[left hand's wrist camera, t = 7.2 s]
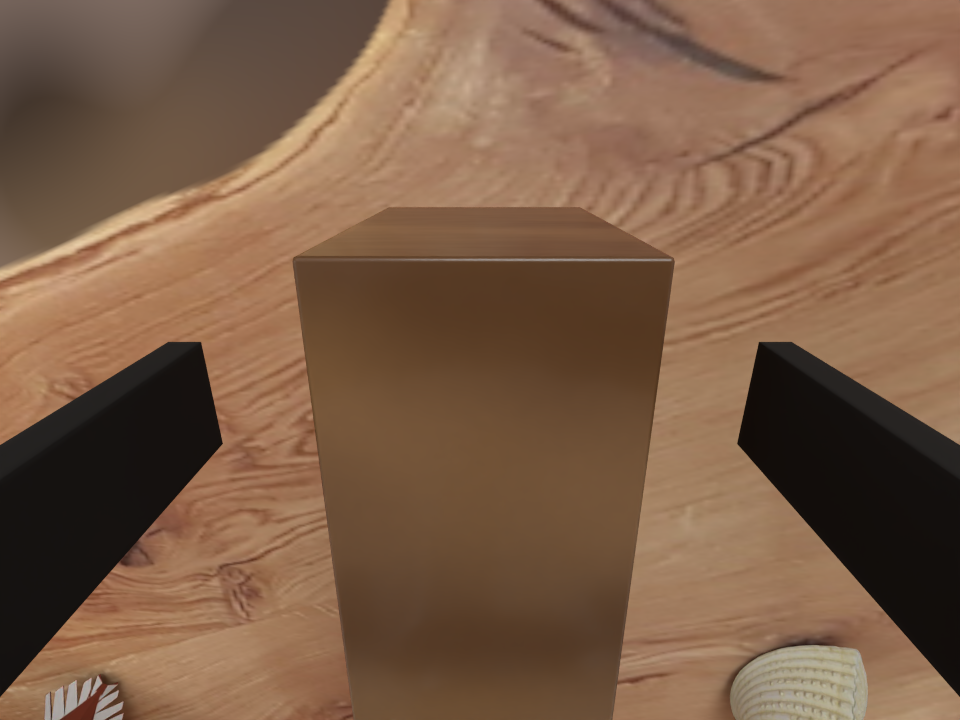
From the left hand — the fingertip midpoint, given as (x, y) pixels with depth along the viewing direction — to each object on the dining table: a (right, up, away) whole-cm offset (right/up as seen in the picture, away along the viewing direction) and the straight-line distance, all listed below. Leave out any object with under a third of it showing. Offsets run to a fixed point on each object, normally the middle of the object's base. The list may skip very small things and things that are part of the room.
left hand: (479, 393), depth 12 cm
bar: (0, -5, +7) cm, 9 cm away
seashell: (+23, -23, +26) cm, 42 cm away
